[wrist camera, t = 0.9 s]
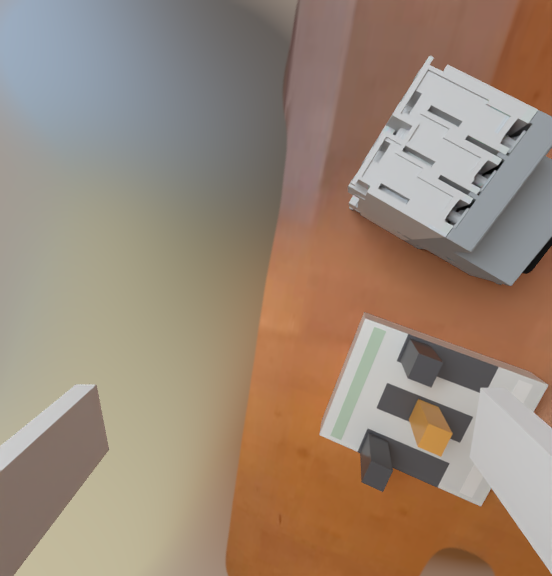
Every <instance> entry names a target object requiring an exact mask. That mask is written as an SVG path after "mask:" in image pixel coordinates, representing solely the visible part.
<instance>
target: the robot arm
mask: <svg viewBox="0 0 552 576" xmlns="http://www.w3.org/2000/svg"><path fill="white" fill-rule="evenodd" d="M108 450H109V447H108V442H107V437H106V432H105V426H104V421H103V416H102V411H101V406H100V401H99V395H98V390H97V385H82V384H81V385H80V384H77V385H74V386H73V387H72V388H71V389H70V390H68V391H67V392H66V393H65V394H63V395H62V396H61V397H60V398H59V399H57V400H56V401H55V402H54V403H52V404H51V405H50V406H49V407H48V408H46V409H45V410H44V411H43V412H41V413H40V414H39V415H38V416H37V417H35V418H34V419H33V420H32V421H30V422H29V423H28V424H27V425H26V426H24V427H23V428H22V429H21V430H19V431H18V432H17V433H16V434H14V436H12V437H11V438H10V439H9V440H7V441H6V442H5V443H4V444H2V445H1V446H0V576H14V574H15V573H16V572H17V570H18V569H19V568H20V566H21V565H22V564H23V562H24V561H25V560H26V558H27V557H28V556H29V554H30V553H31V552H32V550H33V549H34V548H35V546H36V545H37V544H38V542H39V541H40V540H41V539H42V537H43V536H44V535H45V533H46V532H47V531H48V529H49V528H50V527H51V525H52V524H53V523H54V521H55V520H56V519H57V518H58V516H59V515H60V514H61V512H62V511H63V510H64V508H65V507H66V506H67V504H68V503H69V502H70V500H71V499H72V498H73V496H74V495H75V494H76V492H77V491H78V490H79V488H80V487H81V486H82V485H83V483H84V482H85V481H86V479H87V478H88V476H89V475H90V474H91V473H92V471H93V470H94V469H95V467H96V466H97V465H98V463H99V462H100V461H101V460H102V458H103V457H104V455H105V454H106V453H107V452H108ZM470 458H471V460H472V461H473V463H474V464H475V465H476V467H477V468H478V470H479V471H480V473H481V474H482V475H483V477H484V478H485V480H486V481H487V483H488V484H489V485H490V487H491V488H492V490H493V491H494V493H495V494H496V495H497V497H498V498H499V500H500V501H501V503H502V504H503V505H504V507H505V508H506V510H507V511H508V513H509V514H510V515H511V517H512V518H513V520H514V521H515V522H516V524H517V525H518V527H519V528H520V530H521V531H522V532H523V534H524V535H525V537H526V538H527V540H528V541H529V542H530V544H531V545H532V547H533V548H534V550H535V551H536V552H537V554H538V555H539V557H540V558H541V560H542V561H543V562H544V564H545V565H546V567H547V568H548V569H549V571H550V572H551V574H552V428H551V427H550V426H549V425H548V424H546V423H545V422H544V421H543V420H542V419H541V418H539V417H538V416H537V415H536V414H535V413H534V412H532V411H531V410H530V409H529V408H528V407H527V406H525V405H524V404H523V403H522V402H521V401H520V400H518V399H517V398H516V397H515V396H514V395H513V394H512V393H510V392H509V391H508V390H507V389H506V388H480V395H479V401H478V407H477V413H476V420H475V426H474V432H473V439H472V445H471V451H470Z"/></svg>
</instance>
